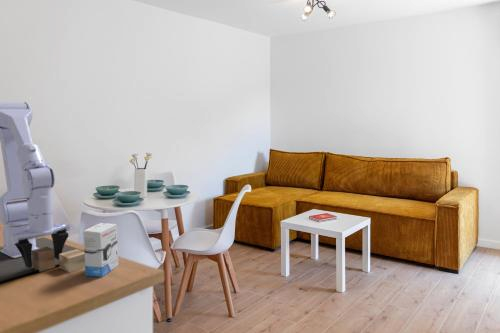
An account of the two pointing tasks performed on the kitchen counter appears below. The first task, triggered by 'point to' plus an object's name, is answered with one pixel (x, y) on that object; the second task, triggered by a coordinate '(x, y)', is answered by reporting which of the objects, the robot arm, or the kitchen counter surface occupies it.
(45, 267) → the walnut block
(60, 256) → the base block
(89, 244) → the ink box
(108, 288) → the kitchen counter surface
